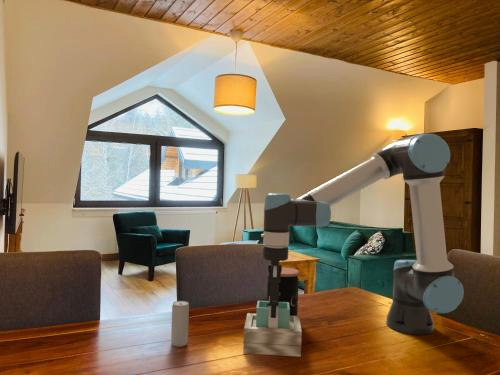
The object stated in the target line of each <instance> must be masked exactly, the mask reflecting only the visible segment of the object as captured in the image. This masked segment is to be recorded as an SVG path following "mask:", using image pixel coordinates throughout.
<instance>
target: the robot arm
mask: <svg viewBox="0 0 500 375" xmlns="http://www.w3.org/2000/svg"><path fill="white" fill-rule="evenodd" d="M450 160H451V150H450V147H449V145H448V143H447V142H446V140H444V139H443V138H442V137H441V136H440V135H437V134H435V133H420V134H419V133H418V134H416V135H411V136H410V135H409V136H406V137H401V138H399V139H397V140H394V141H392V142H391V143H389V144H388V145H386V146H385V147H382V148H381V149H380V150H378V151H377V152H375V153H372V154H371V157H370V159H368V160H366V161H364V162H362V163H360V164H359V165H357V166H355V167H353V168H351V169H349V170H347V171H346V172H343V173H342V174H339V175H338V176H336V177H334V178H332V179H330V180H329V181H327V182H325V183H323V184H321V185H320V186H317V187H316V188H313V189H312V190H311V191H308V192H307V193H305V194H303V195H301V196H299V197H296V198H295V197H294V198H291V195H290V194H289V193H277V192H274V193H273V192H270V193H267V194H266V195H265V197H264V206H263V233H261V235H260V236H261V238H262V239H263V240H262V244H263V247H262V258H263V260H266V261H270V263H269V264H267V265H268V268H267V273H268V272H269V273H268V276H269V281H270V293H269V294H270V296H269V301H270V302H269V303H267V306H269V316H268V328H278V305H279V303H278V296H280V293H279V282H280V280H281V272H282V267H283V266H282V264H280V262H284V261H285V262H286V261H287V260H288V259H289V247H288V246H289V244H290V227H314V228H315V227H316V228H319V227H327V226H328V225H329V224H330V222H331V215H332V211H331V207H332V206H333V205H336V204H338V203H340V202H342V201H343V200H345V199H346V198H348V197H351V196H352V195H354V194H356V193H358V192H359V191H361V190H364V189H365V188H367V187H369V186H370V185H372V184H374V183H376V182H378V181H380V180H389V179H390V178H392V177H394V176H397V175H401V174H402V179H403V181H404V183H406V184H407V185H408V186H409V195H410V206H411V213H412V214H411V215H412V223H413V224H412V225H413V233H414V234H413V235H414V243H415V254H416V259H397V260H395V261H394V265H393V270H392V271H393V279H392V280H393V281H392V282H393V284H392V302H391V305H390V308H389V310H388V313H387V315H386V320H385V321H386V326H388V327H389V328H390V329H391V330H393V331H397V332H399V333H404V334H409V335H416V336H418V335H430V334H432V333H434V329H435V328H434V326H435V325H434V324H435V323H434V321H433V316H432V313H431V311H432V312H435V313H438V314H448V313H450V312H452V311H454V310H456V309H457V308H458V306H459V305H460V304H461V303H462V301H463V299H464V295H465V294H464V293H465V291H464V286H463V284H462V282H461V281H460V280H459V279H458V278H457V277H455V271H454V268H455V267H454V264H452V263H451V262H450V261H449V260H448V256H447V255H448V254H447V246H446V244H447V243H446V234H445V225H444V215H443V206H442V204H443V203H442V195H441V186H440V185H441V184H440V183H441V181H442V180H443V179H444V178H445V168H446V167H447V165H448V164H449V163H450Z"/></svg>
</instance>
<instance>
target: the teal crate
mask: <svg viewBox="0 0 500 375" xmlns="http://www.w3.org/2000/svg"><path fill="white" fill-rule="evenodd" d="M269 302H270V301H267V300H257V302H256V303H257V304H256V309H255V312H256V313H255V314H256V327H264V328H268V316H269V306H267V303H269ZM278 303H279V305H278V328H282V329H289V317H290V307H289V302H278Z"/></svg>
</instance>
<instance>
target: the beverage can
mask: <svg viewBox="0 0 500 375" xmlns="http://www.w3.org/2000/svg"><path fill="white" fill-rule="evenodd" d="M189 311H190V304H189V302H188V301H186V300H176V301H174V302H172V307H171V338H170V340H171V345H172V346H173V347H178V348H181V347H185V346H186V345H187V344H188V342H189V318H190V317H189V315H190V314H189V313H190V312H189Z"/></svg>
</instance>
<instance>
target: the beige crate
mask: <svg viewBox="0 0 500 375" xmlns="http://www.w3.org/2000/svg"><path fill="white" fill-rule="evenodd" d="M302 336H303V335H302V326H301V320H300V316H299V315H297V316H290V317H289V329H282V328H264V327H256V313H250V312H247V314H246V319H245V323H244V327H243V350H242V351H243V352H242V353H243V354H254V355H267V356H268V355H270V356H285V357H287V356H288V357H300V358H301V357H302Z"/></svg>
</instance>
